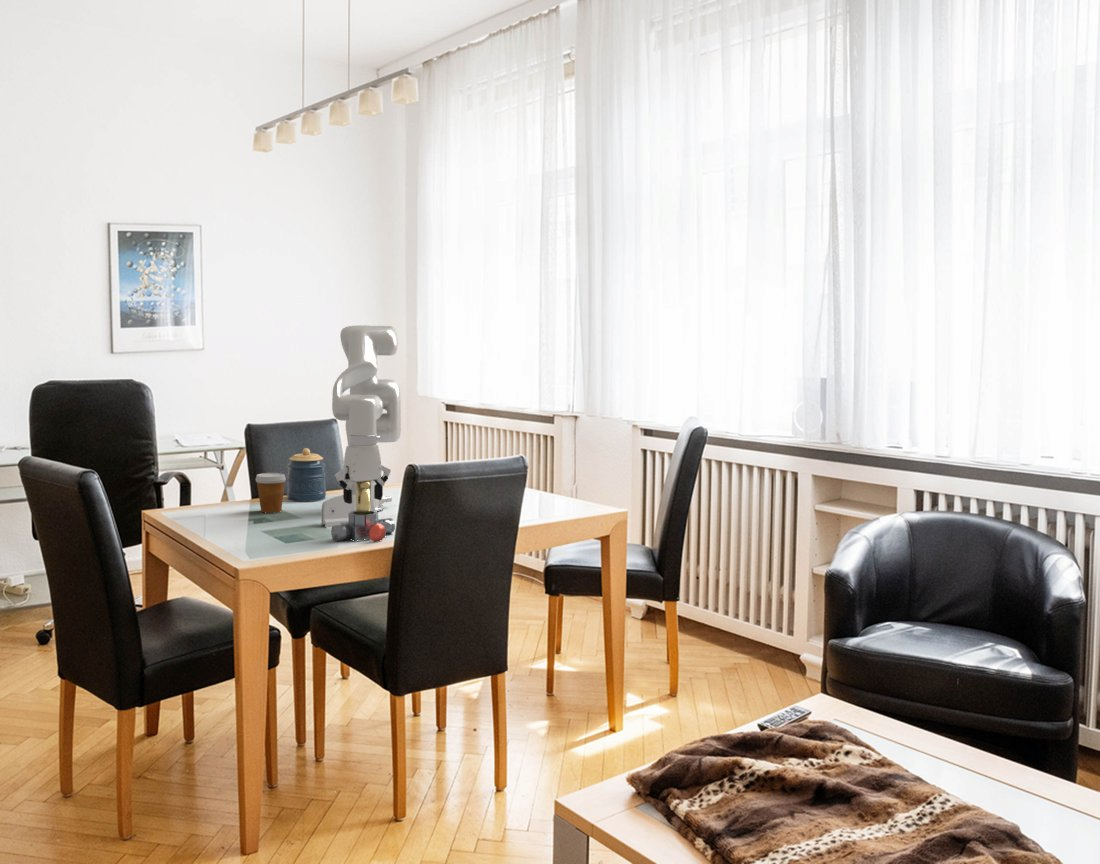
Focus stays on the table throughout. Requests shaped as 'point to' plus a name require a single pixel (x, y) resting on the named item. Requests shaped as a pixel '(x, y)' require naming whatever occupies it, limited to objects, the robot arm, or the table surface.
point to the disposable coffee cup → (270, 491)
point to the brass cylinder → (363, 498)
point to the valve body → (363, 527)
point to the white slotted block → (338, 510)
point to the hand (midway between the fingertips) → (363, 501)
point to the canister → (306, 477)
